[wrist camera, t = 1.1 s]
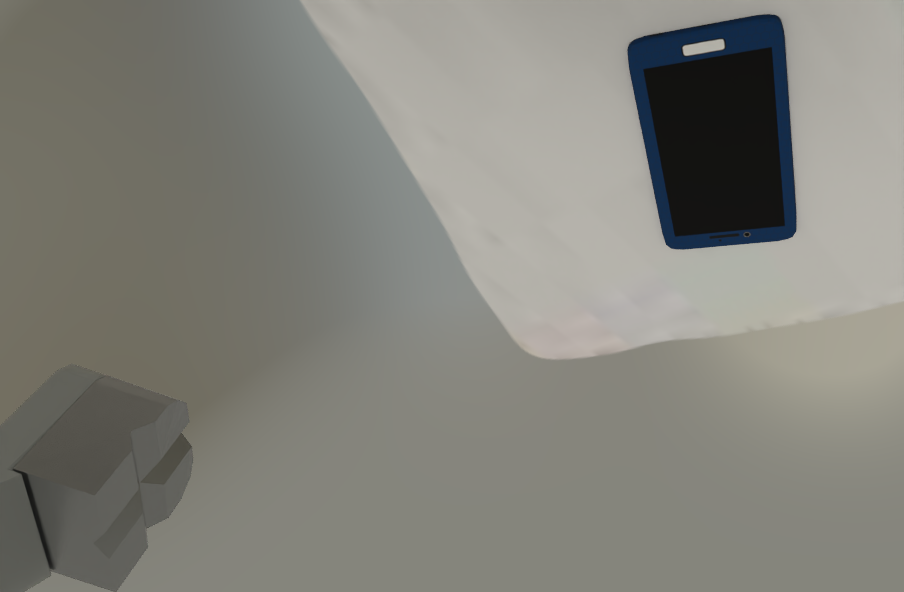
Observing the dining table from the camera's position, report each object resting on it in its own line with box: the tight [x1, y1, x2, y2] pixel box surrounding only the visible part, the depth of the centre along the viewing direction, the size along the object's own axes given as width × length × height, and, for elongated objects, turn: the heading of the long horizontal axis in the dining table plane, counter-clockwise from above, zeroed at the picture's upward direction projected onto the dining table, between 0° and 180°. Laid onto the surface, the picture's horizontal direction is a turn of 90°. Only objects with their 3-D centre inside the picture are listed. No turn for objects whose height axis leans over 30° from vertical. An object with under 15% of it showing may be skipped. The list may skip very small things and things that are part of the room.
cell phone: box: [628, 14, 796, 249], centre depth 44 cm, size 7×14×1 cm, turn 19°
